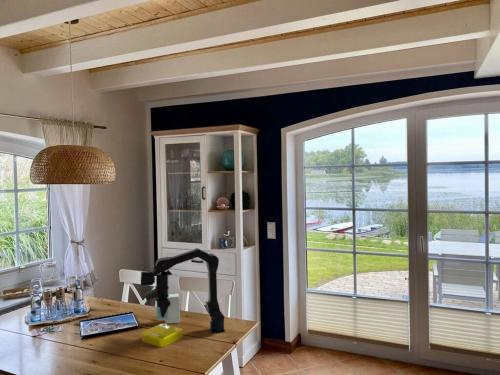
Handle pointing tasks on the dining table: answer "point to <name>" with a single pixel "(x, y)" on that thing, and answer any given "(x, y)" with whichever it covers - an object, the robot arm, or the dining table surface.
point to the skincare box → (173, 309)
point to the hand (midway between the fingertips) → (162, 315)
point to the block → (160, 314)
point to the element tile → (162, 335)
